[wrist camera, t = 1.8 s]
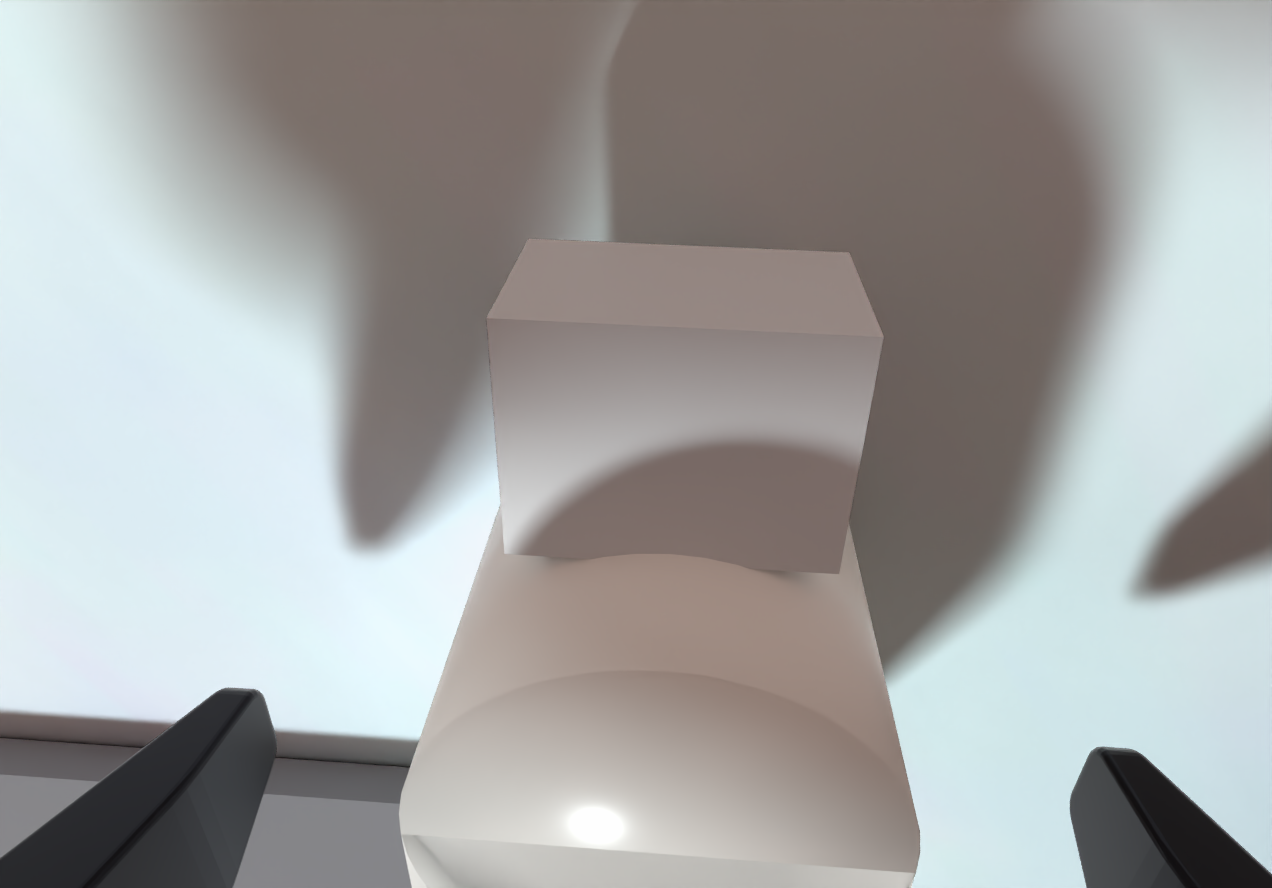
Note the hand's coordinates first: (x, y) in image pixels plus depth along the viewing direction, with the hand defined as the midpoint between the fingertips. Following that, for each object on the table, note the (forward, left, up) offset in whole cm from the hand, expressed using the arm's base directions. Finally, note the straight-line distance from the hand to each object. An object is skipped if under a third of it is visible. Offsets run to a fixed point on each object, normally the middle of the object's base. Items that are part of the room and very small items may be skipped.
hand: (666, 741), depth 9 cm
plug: (0, 0, -2) cm, 2 cm away
